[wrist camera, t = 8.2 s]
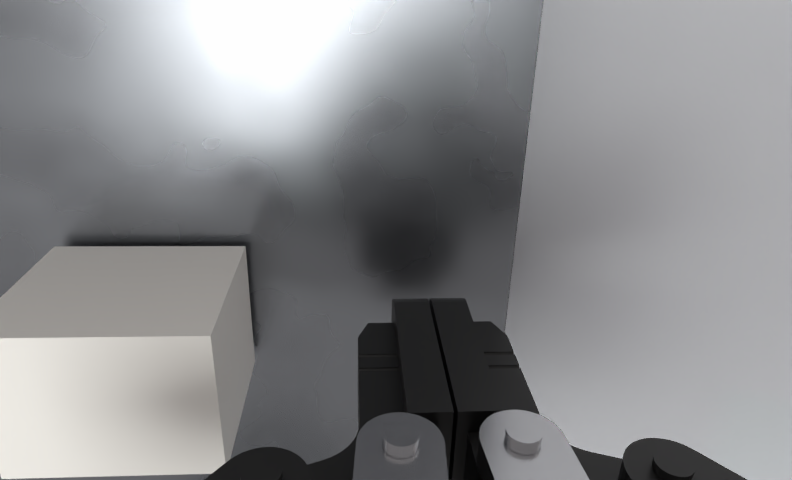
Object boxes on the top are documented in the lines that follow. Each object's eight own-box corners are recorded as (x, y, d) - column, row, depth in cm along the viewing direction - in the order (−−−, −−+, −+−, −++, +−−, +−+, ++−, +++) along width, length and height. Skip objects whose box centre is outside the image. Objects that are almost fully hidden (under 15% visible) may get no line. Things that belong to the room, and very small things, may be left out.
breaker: (245, 246, 13) (210, 336, 10) (255, 361, 14) (226, 473, 11) (54, 246, 13) (-44, 338, 10) (80, 363, 14) (1, 478, 11)
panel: (573, -487, 10) (644, -630, 8) (476, 446, 18) (495, 521, 16) (-631, -580, 9) (-1004, -784, 6) (-157, 461, 17) (-242, 545, 15)
